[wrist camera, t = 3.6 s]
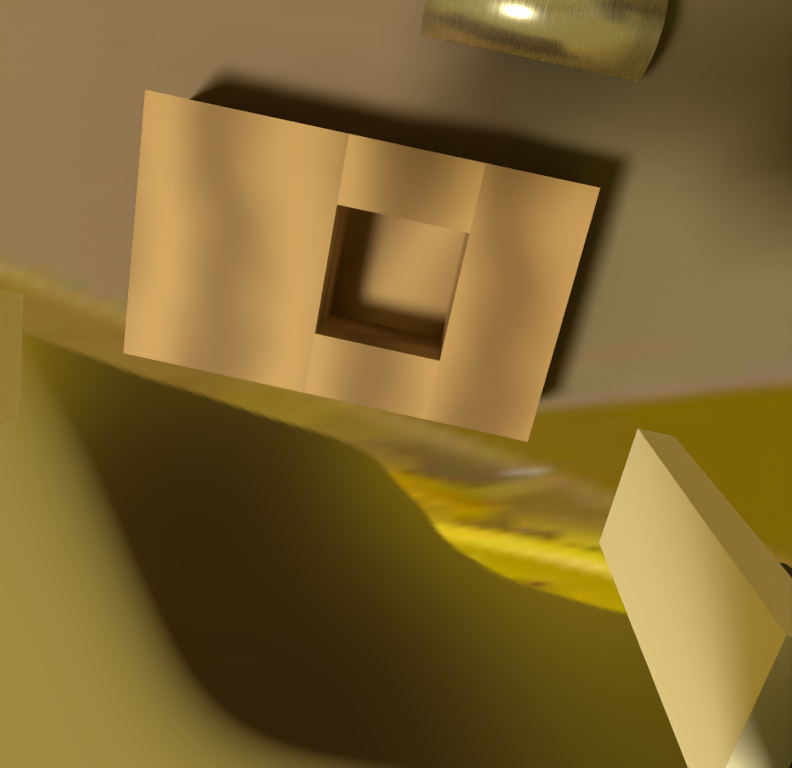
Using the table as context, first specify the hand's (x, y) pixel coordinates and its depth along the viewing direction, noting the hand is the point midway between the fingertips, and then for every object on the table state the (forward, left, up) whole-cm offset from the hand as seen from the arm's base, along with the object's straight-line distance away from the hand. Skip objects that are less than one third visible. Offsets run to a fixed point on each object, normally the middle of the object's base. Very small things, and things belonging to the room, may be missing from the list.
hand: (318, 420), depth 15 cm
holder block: (+2, 0, -23) cm, 23 cm away
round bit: (-4, -12, -23) cm, 26 cm away
